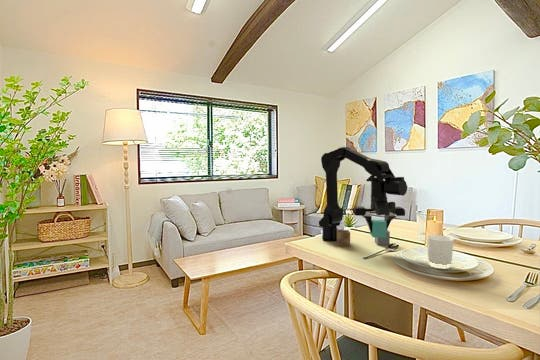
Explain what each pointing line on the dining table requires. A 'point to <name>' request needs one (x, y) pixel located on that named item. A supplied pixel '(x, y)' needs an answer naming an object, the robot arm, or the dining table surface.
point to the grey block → (383, 239)
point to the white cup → (440, 249)
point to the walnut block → (343, 238)
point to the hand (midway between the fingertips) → (378, 232)
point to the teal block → (379, 228)
